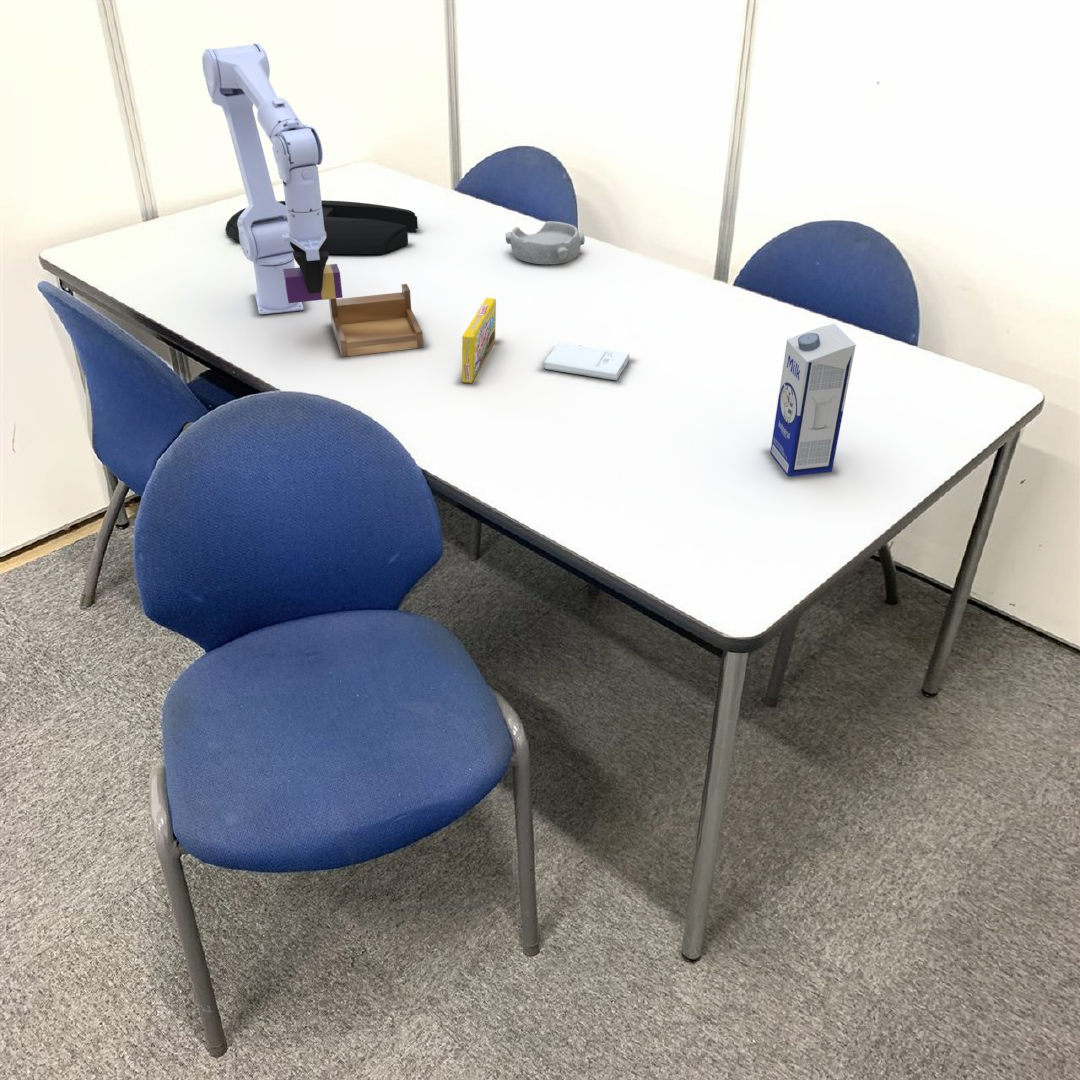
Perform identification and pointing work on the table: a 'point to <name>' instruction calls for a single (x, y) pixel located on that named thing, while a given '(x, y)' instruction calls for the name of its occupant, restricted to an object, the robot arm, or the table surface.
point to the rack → (375, 323)
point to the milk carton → (812, 400)
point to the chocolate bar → (298, 288)
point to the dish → (547, 243)
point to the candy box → (478, 340)
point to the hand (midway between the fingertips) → (313, 287)
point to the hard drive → (586, 361)
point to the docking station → (355, 227)
